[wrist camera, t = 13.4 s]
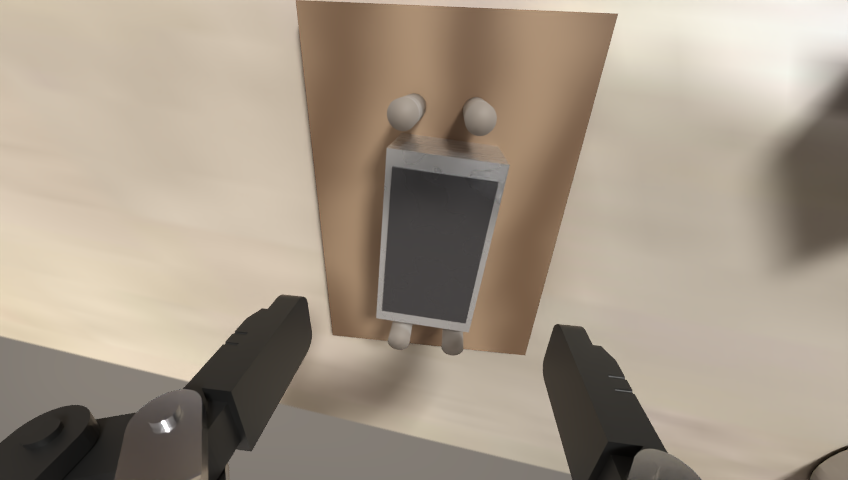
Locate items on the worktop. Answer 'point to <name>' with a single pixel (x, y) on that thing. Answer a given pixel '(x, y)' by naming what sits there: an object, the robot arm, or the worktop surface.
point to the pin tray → (448, 119)
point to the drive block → (437, 228)
